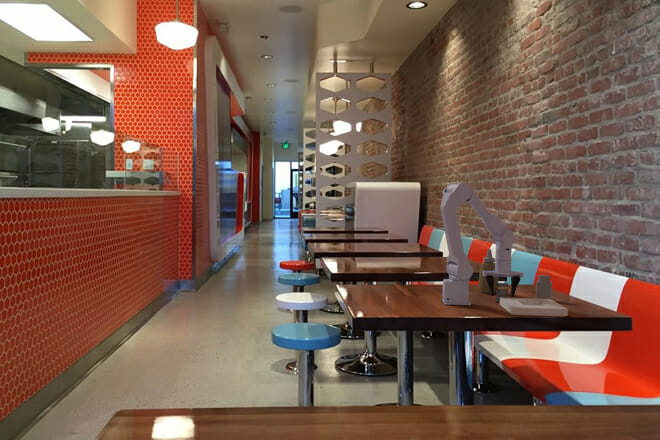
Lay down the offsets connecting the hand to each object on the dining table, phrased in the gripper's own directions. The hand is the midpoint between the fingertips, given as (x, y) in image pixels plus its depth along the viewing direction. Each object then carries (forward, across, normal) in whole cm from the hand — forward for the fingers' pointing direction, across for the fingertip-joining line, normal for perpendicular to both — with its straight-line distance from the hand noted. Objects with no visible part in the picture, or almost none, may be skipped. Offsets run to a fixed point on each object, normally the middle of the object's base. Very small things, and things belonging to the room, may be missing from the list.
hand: (502, 296), depth 201 cm
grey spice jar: (+2, 0, 0) cm, 2 cm away
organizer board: (+2, -7, +14) cm, 16 cm away
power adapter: (+2, -17, -6) cm, 18 cm away
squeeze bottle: (+2, +1, -20) cm, 20 cm away
